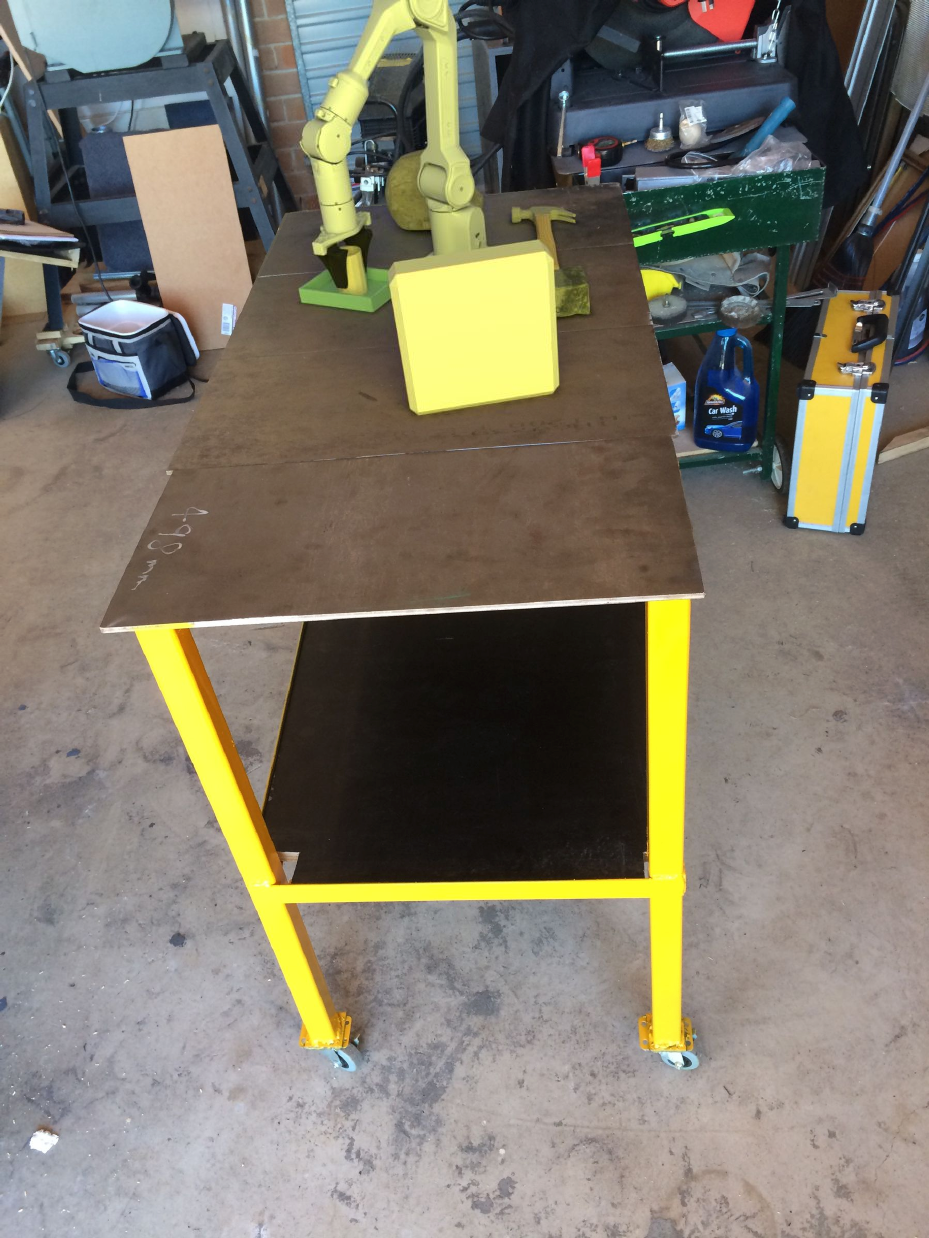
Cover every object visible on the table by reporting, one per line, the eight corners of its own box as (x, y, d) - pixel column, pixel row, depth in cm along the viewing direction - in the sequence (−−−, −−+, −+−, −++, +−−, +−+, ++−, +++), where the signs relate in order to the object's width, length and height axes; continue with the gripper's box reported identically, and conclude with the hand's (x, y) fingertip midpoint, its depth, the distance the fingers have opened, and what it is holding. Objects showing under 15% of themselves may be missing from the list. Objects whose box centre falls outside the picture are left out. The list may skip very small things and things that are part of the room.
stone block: (496, 303, 155) (493, 272, 152) (582, 293, 155) (582, 261, 151) (499, 326, 149) (496, 294, 145) (590, 315, 148) (589, 283, 145)
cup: (373, 286, 165) (366, 247, 160) (357, 299, 162) (349, 259, 157) (349, 283, 167) (341, 244, 162) (332, 296, 164) (324, 256, 159)
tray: (407, 285, 165) (405, 271, 163) (373, 312, 158) (370, 298, 156) (337, 277, 171) (334, 263, 170) (301, 302, 164) (298, 288, 163)
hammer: (585, 278, 160) (573, 216, 183) (586, 261, 159) (573, 201, 181) (516, 281, 161) (511, 219, 183) (515, 265, 159) (511, 204, 181)
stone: (386, 236, 184) (373, 155, 174) (396, 223, 189) (384, 143, 179) (479, 234, 179) (471, 150, 169) (487, 220, 184) (479, 138, 174)
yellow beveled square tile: (550, 371, 136) (543, 231, 123) (561, 397, 130) (555, 253, 117) (407, 393, 136) (384, 256, 122) (412, 421, 130) (388, 280, 116)
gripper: (341, 183, 160) (355, 262, 169) (290, 214, 151) (309, 295, 160) (375, 186, 157) (388, 266, 166) (326, 217, 148) (342, 299, 157)
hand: (351, 280), depth 163 cm, fingers closed on cup, 5 cm apart
